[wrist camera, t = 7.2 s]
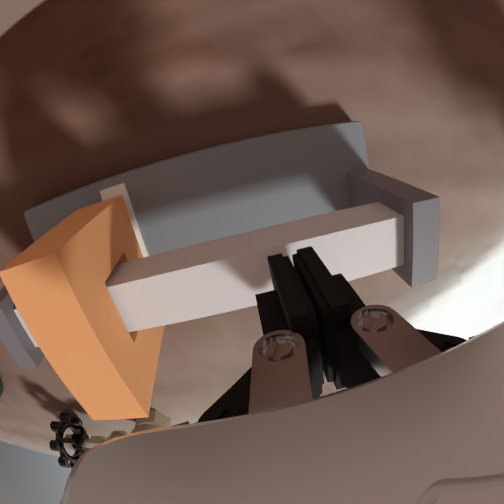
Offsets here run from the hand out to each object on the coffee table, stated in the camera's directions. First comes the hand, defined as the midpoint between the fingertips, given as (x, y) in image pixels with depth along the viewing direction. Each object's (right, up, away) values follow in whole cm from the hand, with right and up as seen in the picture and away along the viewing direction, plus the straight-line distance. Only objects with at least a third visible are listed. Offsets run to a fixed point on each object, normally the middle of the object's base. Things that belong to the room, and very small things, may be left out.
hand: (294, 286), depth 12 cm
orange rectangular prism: (-9, 0, +6) cm, 11 cm away
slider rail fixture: (-5, +3, +8) cm, 10 cm away
